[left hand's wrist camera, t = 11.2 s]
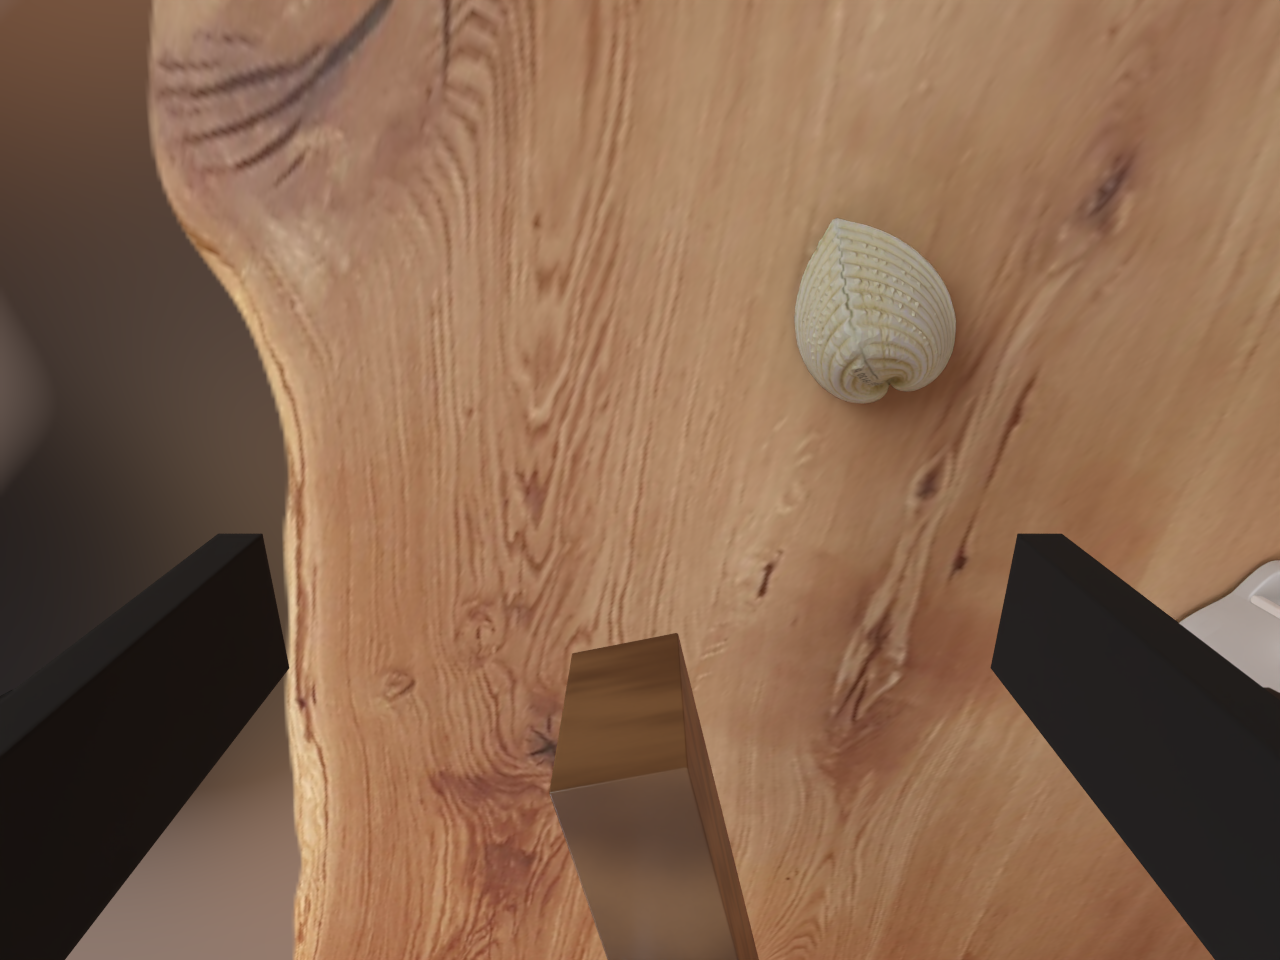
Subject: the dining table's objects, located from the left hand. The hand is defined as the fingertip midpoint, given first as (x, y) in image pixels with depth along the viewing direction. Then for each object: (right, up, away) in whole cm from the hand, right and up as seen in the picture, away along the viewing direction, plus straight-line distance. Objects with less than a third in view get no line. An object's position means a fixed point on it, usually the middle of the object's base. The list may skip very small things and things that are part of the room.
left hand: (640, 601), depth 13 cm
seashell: (+12, +11, +27) cm, 32 cm away
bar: (+2, -17, +23) cm, 28 cm away
